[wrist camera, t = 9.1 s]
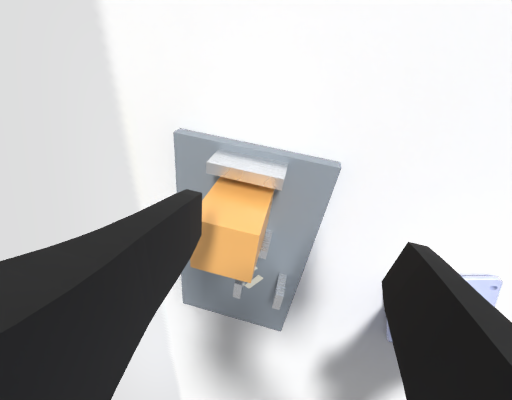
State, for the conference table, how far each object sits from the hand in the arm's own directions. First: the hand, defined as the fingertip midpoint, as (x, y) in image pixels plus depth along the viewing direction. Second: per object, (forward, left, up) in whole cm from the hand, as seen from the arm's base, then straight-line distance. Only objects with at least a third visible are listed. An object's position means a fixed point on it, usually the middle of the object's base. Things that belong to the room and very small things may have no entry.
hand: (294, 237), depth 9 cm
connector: (-3, +5, -9) cm, 11 cm away
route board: (-9, +8, -10) cm, 15 cm away
